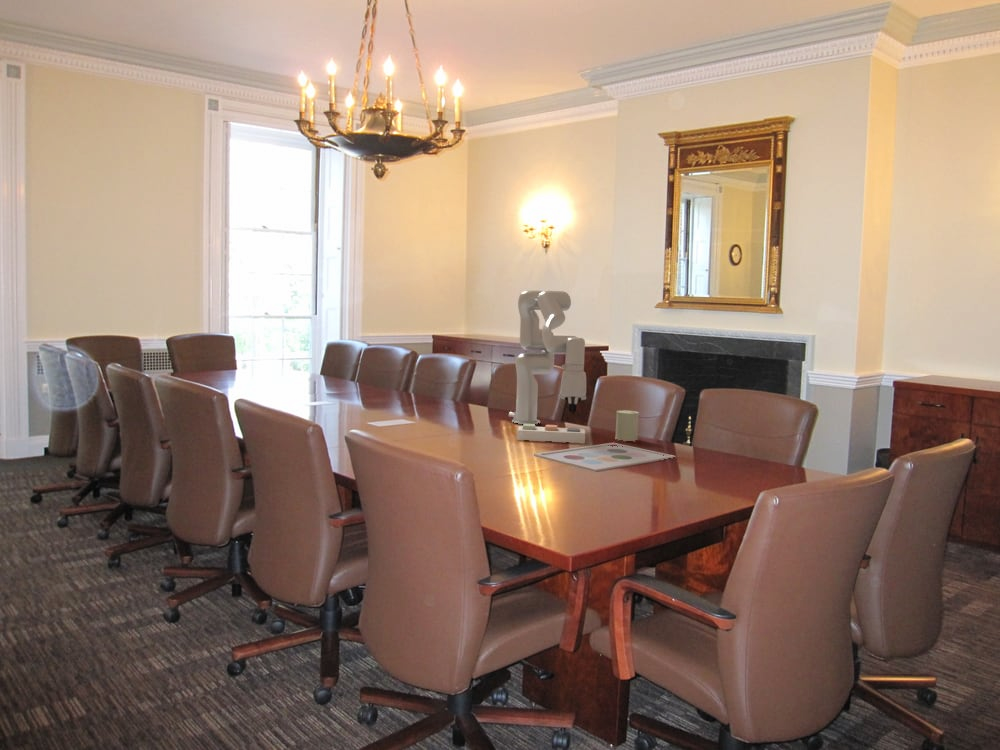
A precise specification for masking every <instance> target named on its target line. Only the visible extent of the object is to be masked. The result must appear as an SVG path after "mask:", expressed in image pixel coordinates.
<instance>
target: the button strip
mask: <svg viewBox="0 0 1000 750" xmlns="http://www.w3.org/2000/svg"><path fill="white" fill-rule="evenodd" d="M568 428H569V427H557V431H547V430H545V426H535V430H526V429H523V425H518V428H517V431H516V432H517V433H516V440H517V441H524V440H529V441H530V442H545V441H552V443H566V442H570V443H572V444H586V430H585V428H579V429H580V432H569V431H568ZM529 441H528V442H529Z"/></svg>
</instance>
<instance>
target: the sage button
mask: <svg viewBox="0 0 1000 750" xmlns="http://www.w3.org/2000/svg"><path fill="white" fill-rule="evenodd" d="M522 426H523V429H526V430H535V427H536V425H535V424H523V425H522Z"/></svg>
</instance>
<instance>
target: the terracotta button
mask: <svg viewBox="0 0 1000 750" xmlns="http://www.w3.org/2000/svg"><path fill="white" fill-rule="evenodd" d="M544 427H545V430H547V431H557V428H558V424H556V425H555V424H545V426H544Z"/></svg>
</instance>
